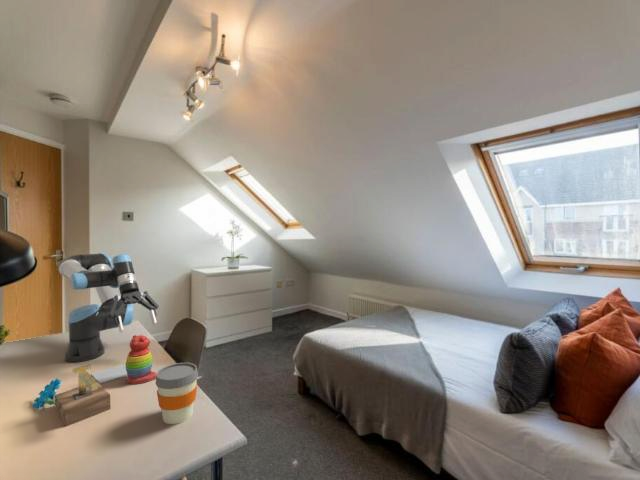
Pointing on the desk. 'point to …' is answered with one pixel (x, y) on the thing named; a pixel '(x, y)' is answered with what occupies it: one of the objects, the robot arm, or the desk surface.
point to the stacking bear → (139, 361)
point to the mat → (110, 374)
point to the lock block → (81, 404)
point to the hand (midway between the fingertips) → (138, 327)
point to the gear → (47, 394)
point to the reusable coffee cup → (177, 391)
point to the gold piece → (85, 379)
